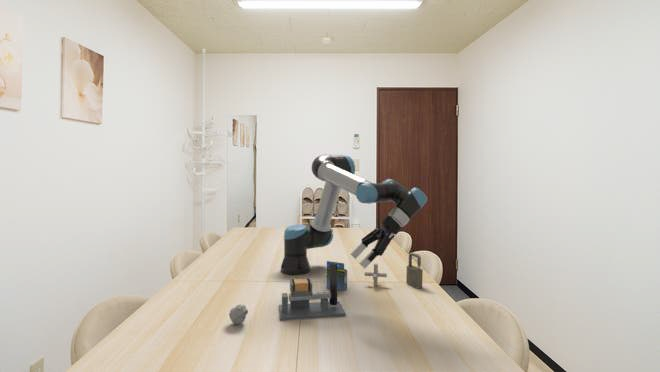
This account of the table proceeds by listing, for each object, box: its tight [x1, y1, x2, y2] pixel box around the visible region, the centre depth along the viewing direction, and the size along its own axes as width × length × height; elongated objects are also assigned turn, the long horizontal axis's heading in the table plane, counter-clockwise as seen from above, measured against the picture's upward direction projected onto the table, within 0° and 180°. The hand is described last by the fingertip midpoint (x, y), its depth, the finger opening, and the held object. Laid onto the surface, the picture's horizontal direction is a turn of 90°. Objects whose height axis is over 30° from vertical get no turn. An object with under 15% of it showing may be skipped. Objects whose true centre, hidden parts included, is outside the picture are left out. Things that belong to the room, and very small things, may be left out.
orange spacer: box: [294, 279, 308, 292], centre depth 134 cm, size 5×5×5 cm
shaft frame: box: [278, 276, 347, 321], centre depth 135 cm, size 24×12×12 cm, turn 100°
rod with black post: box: [288, 263, 338, 305], centre depth 135 cm, size 18×3×16 cm, turn 100°
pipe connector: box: [364, 263, 388, 287], centre depth 165 cm, size 10×10×10 cm
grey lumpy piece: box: [228, 304, 249, 326], centre depth 124 cm, size 6×7×7 cm
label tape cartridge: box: [326, 260, 348, 291], centre depth 161 cm, size 9×4×12 cm, turn 65°
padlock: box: [405, 252, 424, 289], centre depth 165 cm, size 4×8×15 cm, turn 28°
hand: (357, 261), depth 137 cm, fingers open, 13 cm apart
